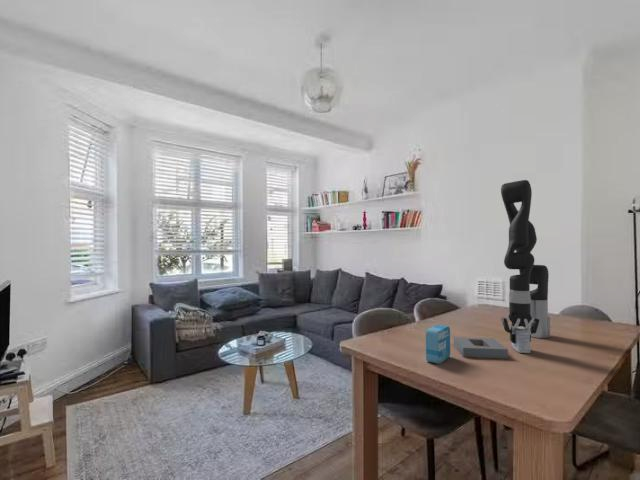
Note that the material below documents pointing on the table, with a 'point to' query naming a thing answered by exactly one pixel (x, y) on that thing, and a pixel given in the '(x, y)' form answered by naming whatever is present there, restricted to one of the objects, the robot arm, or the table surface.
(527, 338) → the medicine box
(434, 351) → the blue printed box
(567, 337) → the table surface
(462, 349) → the grey slotted block
